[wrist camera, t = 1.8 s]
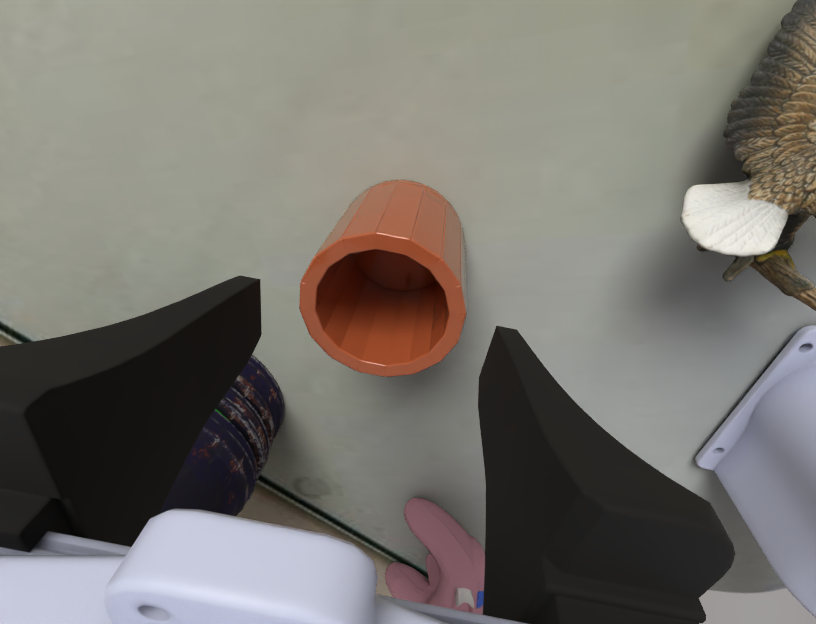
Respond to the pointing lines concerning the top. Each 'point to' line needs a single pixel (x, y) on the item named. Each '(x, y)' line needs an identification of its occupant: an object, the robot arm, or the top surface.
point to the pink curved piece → (440, 562)
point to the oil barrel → (231, 446)
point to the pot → (389, 282)
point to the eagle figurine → (767, 164)
